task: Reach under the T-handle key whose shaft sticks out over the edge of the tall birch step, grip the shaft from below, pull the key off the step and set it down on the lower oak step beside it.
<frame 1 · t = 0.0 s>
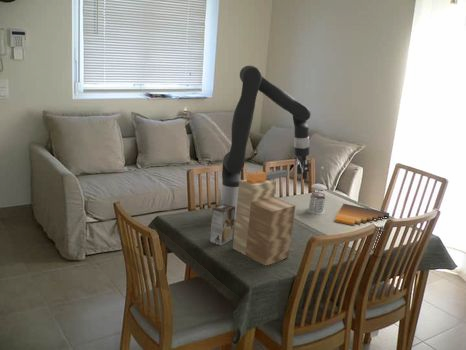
hand: (301, 176, 260), 22 cm above the table, tool pointing down, fingers open, 8 cm apart
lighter: (374, 246, 240), on the table
pan flute: (362, 220, 274), on the table
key: (267, 179, 221), point 31 cm above the table, touching stand
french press: (315, 211, 278), on the table
coffee box: (221, 241, 231), on the table
air freshener: (269, 213, 270), on the table
stand: (260, 253, 222), on the table
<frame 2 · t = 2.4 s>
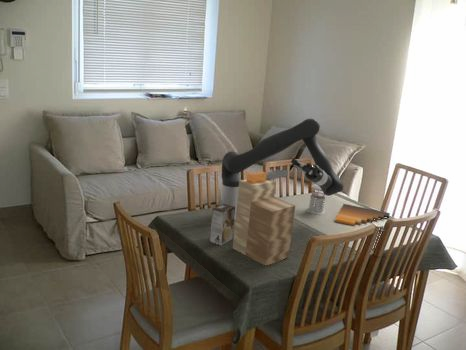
hand: (299, 162, 233), 36 cm above the table, tool pointing upward, fingers open, 8 cm apart
nothing on the table moved.
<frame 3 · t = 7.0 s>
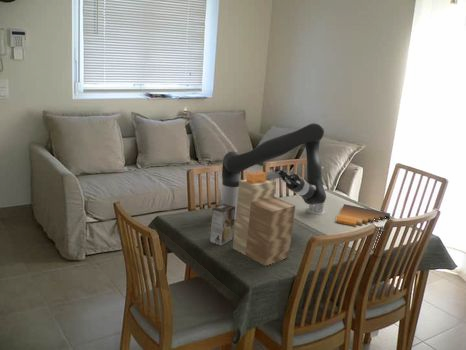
hand: (278, 171, 224), 34 cm above the table, tool pointing upward, fingers closed on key, 2 cm apart
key: (267, 179, 221), point 31 cm above the table, touching gripper, stand
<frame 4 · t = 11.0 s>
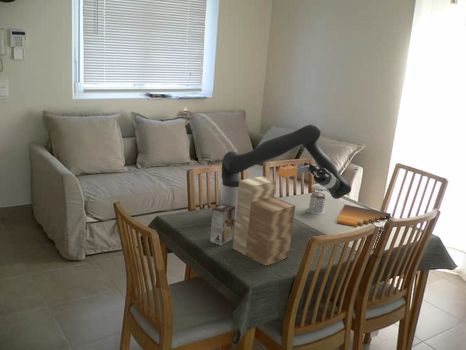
hand: (307, 165, 232), 35 cm above the table, tool pointing upward, fingers closed on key, 2 cm apart
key: (297, 172, 229), point 32 cm above the table, touching gripper
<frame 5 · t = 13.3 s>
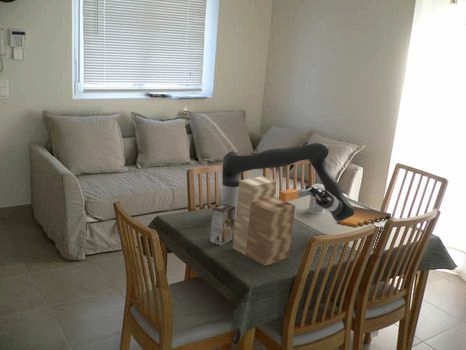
hand: (309, 188, 223), 28 cm above the table, tool pointing upward, fingers closed on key, 2 cm apart
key: (299, 196, 220), point 26 cm above the table, touching gripper
when the fingers open (28 cm above the table, at t = 15.3 s): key drops 2 cm, resting on stand.
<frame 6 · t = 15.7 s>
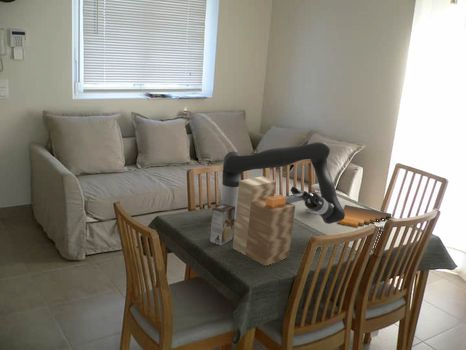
hand: (298, 191, 218), 28 cm above the table, tool pointing upward, fingers open, 6 cm apart
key: (286, 202, 215), point 24 cm above the table, touching stand
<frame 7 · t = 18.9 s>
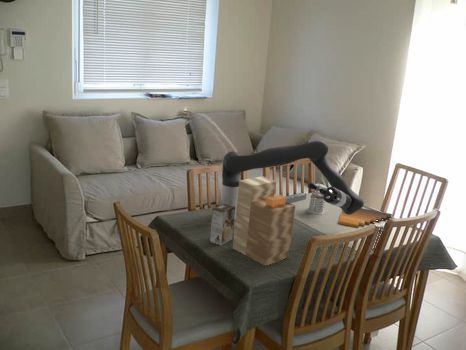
hand: (315, 188, 227), 27 cm above the table, tool pointing upward, fingers open, 8 cm apart
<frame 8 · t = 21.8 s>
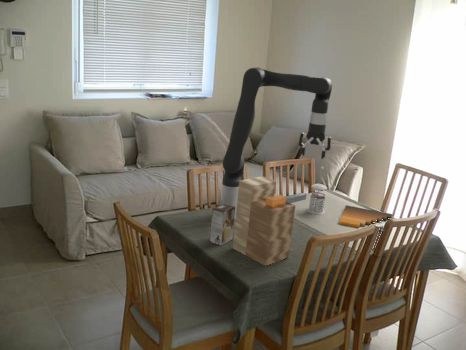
hand: (312, 157, 236), 38 cm above the table, tool pointing down, fingers open, 8 cm apart
at the end: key inside the target area (0.1 cm from its centre), point 24.0 cm above the table; the gripper is holding nothing; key tilted 0° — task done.
